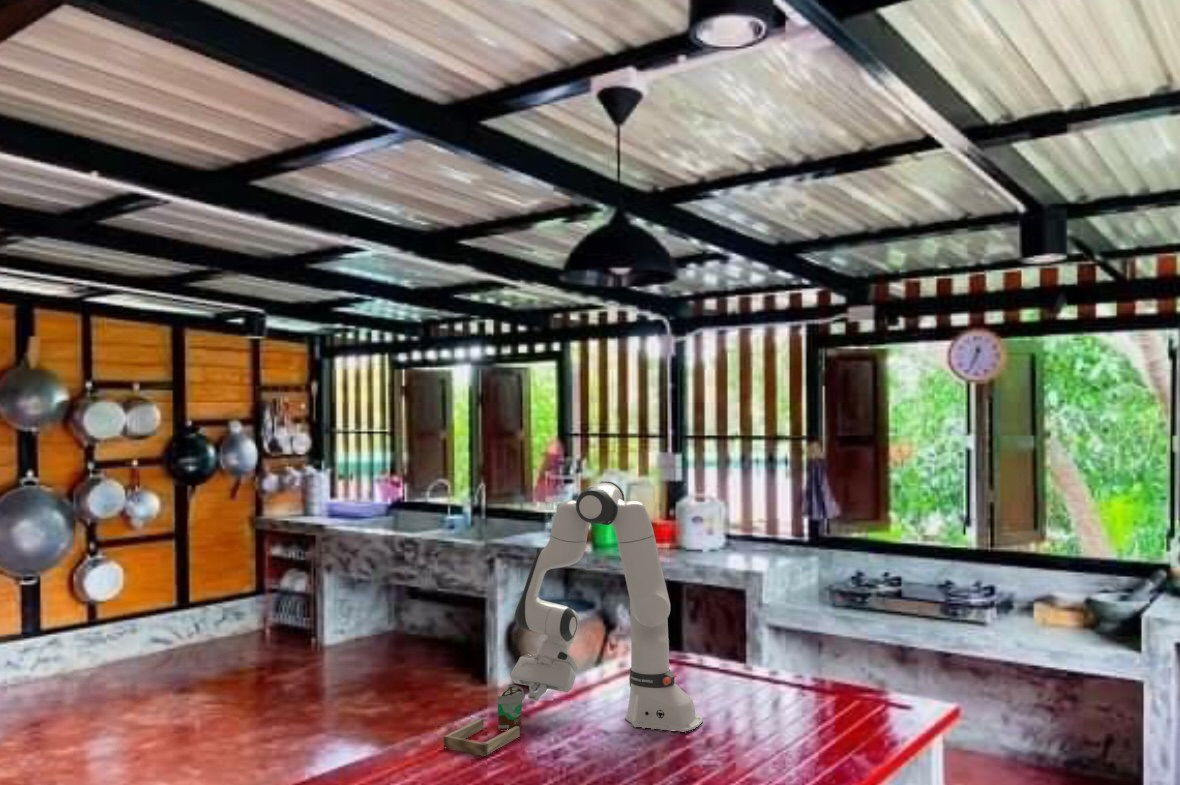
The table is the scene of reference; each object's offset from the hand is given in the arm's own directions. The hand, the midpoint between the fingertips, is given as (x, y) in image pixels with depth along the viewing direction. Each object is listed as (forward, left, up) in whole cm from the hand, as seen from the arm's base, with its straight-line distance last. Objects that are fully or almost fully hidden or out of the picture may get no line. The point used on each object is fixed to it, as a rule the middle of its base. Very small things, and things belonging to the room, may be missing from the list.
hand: (532, 699), depth 267 cm
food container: (0, +10, -5) cm, 11 cm away
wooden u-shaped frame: (0, +25, -5) cm, 25 cm away
